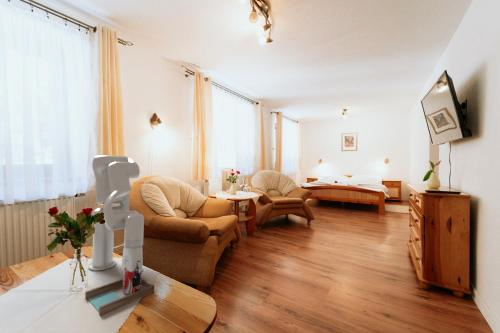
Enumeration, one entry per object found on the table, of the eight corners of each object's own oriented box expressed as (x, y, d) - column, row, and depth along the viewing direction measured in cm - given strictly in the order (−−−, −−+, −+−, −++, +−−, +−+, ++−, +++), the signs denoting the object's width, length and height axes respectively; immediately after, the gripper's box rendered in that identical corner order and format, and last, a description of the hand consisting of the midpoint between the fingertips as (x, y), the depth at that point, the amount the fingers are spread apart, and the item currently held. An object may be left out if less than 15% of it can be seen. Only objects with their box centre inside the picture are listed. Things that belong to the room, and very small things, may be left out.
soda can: (133, 296, 97) (134, 268, 97) (118, 294, 98) (119, 266, 98) (144, 288, 104) (145, 261, 103) (130, 285, 105) (131, 259, 105)
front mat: (87, 299, 93) (87, 298, 93) (111, 290, 100) (111, 290, 100) (100, 313, 85) (100, 312, 85) (125, 302, 92) (125, 301, 92)
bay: (85, 298, 94) (85, 291, 94) (136, 279, 110) (136, 273, 110) (100, 315, 84) (100, 307, 84) (154, 292, 101) (154, 285, 101)
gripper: (116, 239, 103) (114, 279, 103) (134, 249, 92) (132, 293, 92) (133, 236, 109) (131, 273, 109) (152, 245, 98) (150, 286, 98)
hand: (132, 282), depth 101 cm, fingers closed on soda can, 6 cm apart
